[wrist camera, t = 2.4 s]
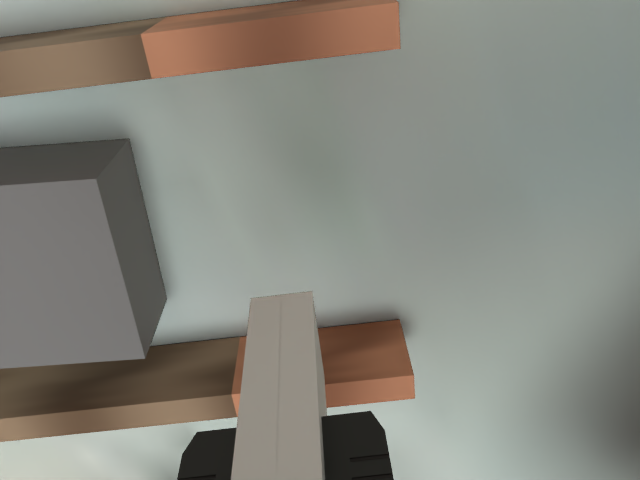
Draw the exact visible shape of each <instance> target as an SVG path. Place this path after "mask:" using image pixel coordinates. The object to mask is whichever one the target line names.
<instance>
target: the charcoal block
mask: <svg viewBox="0 0 640 480" xmlns="http://www.w3.org/2000/svg"><path fill="white" fill-rule="evenodd" d="M166 300H167V297H166V292H165V288H164V284H163V280H162V276H161V271H160V267H159V263H158V259H157V254H156V250H155V246H154V242H153V237H152V233H151V229H150V225H149V220H148V216H147V212H146V208H145V203H144V199H143V195H142V191H141V186H140V182H139V178H138V174H137V169H136V165H135V161H134V157H133V152H132V148H131V144H130V140H129V139H117V140H103V141H89V142H75V143H61V144H47V145H33V146H19V147H5V148H0V369H4V368H19V367H33V366H48V365H62V364H76V363H91V362H105V361H119V360H134V359H145V358H146V355H147V353H148V350H149V347H150V344H151V342H152V339H153V336H154V333H155V331H156V328H157V325H158V322H159V320H160V317H161V314H162V311H163V309H164V306H165V303H166Z"/></svg>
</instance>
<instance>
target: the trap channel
mask: <svg viewBox="0 0 640 480" xmlns="http://www.w3.org/2000/svg"><path fill="white" fill-rule="evenodd" d="M393 49H400V27H399V3H398V2H397V1H396V0H298V1H290V2H282V3H274V4H266V5H258V6H250V7H242V8H234V9H226V10H218V11H210V12H202V13H194V14H186V15H178V16H170V17H162V18H154V19H146V20H138V21H129V22H121V23H113V24H105V25H97V26H89V27H81V28H73V29H65V30H57V31H49V32H41V33H33V34H25V35H17V36H9V37H1V38H0V97H6V96H14V95H22V94H31V93H39V92H47V91H55V90H64V89H72V88H80V87H88V86H97V85H105V84H113V83H121V82H129V81H138V80H146V79H154V78H162V77H171V76H179V75H187V74H195V73H204V72H212V71H220V70H228V69H237V68H245V67H253V66H261V65H269V64H278V63H286V62H294V61H302V60H311V59H319V58H327V57H335V56H344V55H352V54H360V53H368V52H376V51H385V50H393ZM318 335H319V342H320V349H321V356H322V363H323V370H324V379H325V394H326V408H328V407H338V406H347V405H357V404H367V403H376V402H386V401H395V400H405V399H414V398H415V389H414V374H413V370H412V366H411V362H410V358H409V354H408V350H407V346H406V342H405V338H404V334H403V331H402V327H401V323H400V320H391V321H381V322H372V323H363V324H354V325H345V326H335V327H326V328H318ZM246 338H247V336H243V337H234V338H225V339H216V340H207V341H197V342H188V343H179V344H170V345H161V346H151V347H149V350H148V353H147V355H146V358H145V359H134V360H119V361H105V362H91V363H76V364H62V365H48V366H33V367H19V368H4V369H0V442H4V441H14V440H23V439H33V438H42V437H52V436H61V435H71V434H80V433H90V432H99V431H109V430H118V429H128V428H138V427H147V426H157V425H166V424H176V423H185V422H195V421H204V420H214V419H223V418H233V417H238V411H239V402H240V393H241V384H242V374H243V365H244V356H245V347H246Z"/></svg>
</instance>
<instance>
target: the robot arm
mask: <svg viewBox="0 0 640 480" xmlns="http://www.w3.org/2000/svg"><path fill="white" fill-rule="evenodd" d="M177 479H178V480H394V479H393V474H392V468H391V462H390V458H389V451H388V446H387V441H386V435H385V430H384V429H383V427H382V426H381V425H380V423H379V422H378V420H377V419H376V418H375V416H374V415H373V414H372V412H371V411H367V412H358V413H349V414H340V415H331V416H327V408H326V394H325V379H324V370H323V363H322V356H321V349H320V342H319V335H318V328H317V322H316V315H315V308H314V301H313V294H312V291H309V292H300V293H292V294H283V295H275V296H266V297H258V298H251V302H250V311H249V320H248V329H247V338H246V347H245V356H244V365H243V374H242V384H241V393H240V402H239V411H238V420H237V428H229V429H221V430H212V431H203V432H197V433H196V434H195V436H194V437H193V439H192V440H191V442H190V444H189V445H188V447H187V448H186V450H185V451H184V453H183V454H182V459H181V464H180V468H179V473H178V478H177Z"/></svg>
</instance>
